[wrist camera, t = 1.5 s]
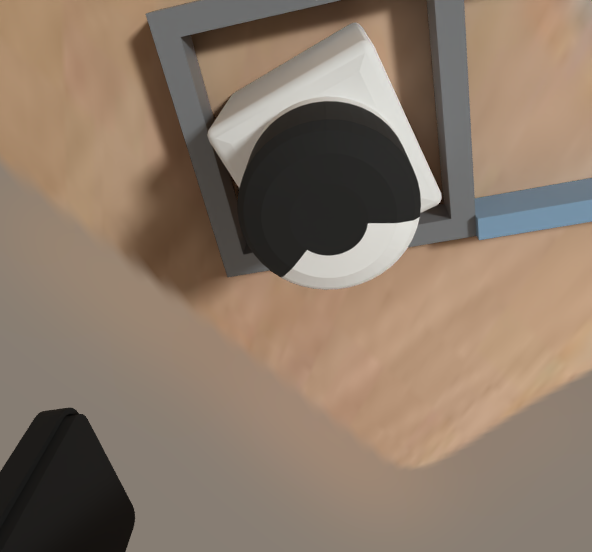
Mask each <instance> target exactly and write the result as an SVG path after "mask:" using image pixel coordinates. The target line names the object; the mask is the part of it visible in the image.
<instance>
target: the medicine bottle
mask: <svg viewBox="0 0 592 552" xmlns="http://www.w3.org/2000/svg"><path fill="white" fill-rule="evenodd" d="M207 136H208V139H209V142H210V143H211V145H212V146H213V148H214V149H215V151H216V153H217V154H218V156H219V157H220V159H221V160H222V162H223V163H224V165H225V167H226V168H227V170H228V171H229V173H230V174H231V176H232V178H233V179H234V181H235V182H236V184H237V185H238V187H239V193H238V200H237V205H238V218H239V224H240V227H241V230H242V234H243V236H244V238H245V240H246V242H247V244H248V246H249V248H250V249H251V251H252V252H253V254H254V255H255V256H256V257H257V258H258V259H259V261H260V262H261V263H262V264H263V265H264V266H266V267H267V268H268V269H269V270H270V271H272V272H273V273H275V274H276V275H278V276H279V277H281V278H283V279H285V280H287V281H289V282H291V283H294V284H297V285H300V286H304V287H308V288H313V289H324V290H327V289H341V288H348V287H352V286H355V285H359V284H362V283H364V282H367V281H369V280H371V279H373V278H375V277H377V276H378V275H380V274H382V273H383V272H384V271H386V270H387V269H388V268H390V267H391V266H392V265H393V264H394V263H395V262H396V261H397V260H398V259H399V258H400V257H401V256H402V254H403V253H404V252H405V251H406V249H407V248H408V246H409V244H410V243H411V241H412V239H413V237H414V234H415V232H416V229H417V226H418V222H419V218H420V213H422V212H424V211H426V210H428V209H430V208H432V207H434V206H436V205H438V204H439V203H440V201H441V198H442V196H441V192H440V190H439V187H438V185H437V183H436V181H435V179H434V177H433V174H432V172H431V170H430V168H429V166H428V163H427V161H426V159H425V157H424V155H423V152H422V150H421V148H420V146H419V144H418V141H417V139H416V137H415V135H414V133H413V130H412V128H411V126H410V124H409V122H408V120H407V117H406V115H405V113H404V111H403V109H402V106H401V104H400V102H399V100H398V98H397V95H396V93H395V91H394V89H393V87H392V84H391V82H390V80H389V78H388V76H387V73H386V71H385V69H384V67H383V65H382V63H381V60H380V58H379V56H378V54H377V52H376V49H375V47H374V45H373V44H372V42H371V40H370V39H369V37H368V36H367V34H366V33H365V31H364V30H363V28H362V27H361V25H360V24H359V23H356V22H355V23H351V24H349V25H347V26H346V27H344V28H342V29H341V30H339V31H337V32H336V33H334V34H332V35H331V36H329V37H327V38H326V39H324V40H322V41H321V42H319V43H317V44H315V45H314V46H312V47H310V48H309V49H307V50H305V51H304V52H302V53H300V54H299V55H297V56H295V57H294V58H292V59H290V60H288V61H287V62H285V63H283V64H282V65H280V66H278V67H277V68H275V69H273V70H272V71H270V72H268V73H267V74H265V75H263V76H262V77H260V78H258V79H256V80H255V81H253V82H251V83H250V84H248V85H246V86H245V87H243V88H241V89H240V90H238V91H236V92H235V93H233V94H232V95H231V97H230V98H229V100H228V101H227V103H226V104H225V106H224V107H223V109H222V110H221V112H220V113H219V115H218V117H217V118H216V120H215V121H214V123H213V124H212V126H211V127H210V129H209V130H208V134H207Z"/></svg>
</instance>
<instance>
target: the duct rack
mask: <svg viewBox="0 0 592 552" xmlns="http://www.w3.org/2000/svg"><path fill="white" fill-rule="evenodd" d="M335 1H339V0H198V1H194V2H190V3H185V4H181V5H177V6H173V7H169V8H164V9H160V10H156V11H153V12H150V13H146V17H147V20H148V23H149V26H150V30H151V33H152V36H153V39H154V42H155V46H156V49H157V52H158V55H159V59H160V62H161V65H162V68H163V71H164V75H165V78H166V81H167V84H168V87H169V91H170V94H171V97H172V100H173V103H174V107H175V110H176V113H177V116H178V119H179V123H180V126H181V129H182V132H183V136H184V139H185V142H186V145H187V148H188V152H189V155H190V158H191V161H192V164H193V168H194V171H195V174H196V177H197V180H198V184H199V187H200V190H201V193H202V196H203V200H204V203H205V206H206V209H207V212H208V216H209V219H210V222H211V225H212V229H213V232H214V235H215V238H216V241H217V245H218V248H219V251H220V254H221V257H222V261H223V264H224V267H225V270H226V273H227V277H232V276H238V275H244V274H250V273H256V272H262V271H268V270H269V269H268V268H267V267H266V266H264V265H263V264H262V263H261V262H260V261H259V259H258V258H257V257H256V256H255V255H254V254H253V252H252V251H251V249H250V248H249V246H248V244H247V242H246V240H245V238H244V236H243V234H242V230H241V227H240V224H239V218H238V205H237V199H236V196H235V192H234V188H233V185H232V181H231V178H230V174H229V171H228V170H227V168H226V167H225V165H224V163H223V162H222V160H221V159H220V157H219V156H218V154H217V153H216V151H215V149H214V148H213V146H212V145H211V143H210V142H209V139H208V136H207V134H208V130H209V129H210V127H211V126H212V124H213V123H214V117H213V113H212V110H211V106H210V103H209V99H208V96H207V92H206V88H205V85H204V81H203V78H202V74H201V71H200V67H199V63H198V60H197V56H196V53H195V49H194V46H193V42H192V38H191V35H192V34H196V33H200V32H205V31H209V30H213V29H218V28H222V27H226V26H231V25H235V24H239V23H244V22H248V21H253V20H257V19H261V18H266V17H270V16H274V15H279V14H283V13H287V12H292V11H296V10H300V9H305V8H309V7H313V6H318V5H322V4H326V3H331V2H335ZM427 10H428V22H429V34H430V46H431V58H432V70H433V82H434V94H435V106H436V118H437V130H438V142H439V154H440V166H441V178H442V190H443V202H444V204H441V205H436V206H434V207H432V208H430V209H428V210H426V211H424V212H422V213H420V218H419V222H418V226H417V229H416V232H415V234H414V237H413V239H412V241H411V243H410V244H409V246H408V247H413V246H419V245H425V244H431V243H437V242H443V241H449V240H455V239H461V238H467V237H473V236H477V238H478V239H479V240H483V239H489V238H495V237H501V236H507V235H513V234H519V233H525V232H531V231H537V230H543V229H549V228H555V227H561V226H567V225H573V224H580V223H586V222H592V178H589V179H583V180H577V181H572V182H566V183H560V184H555V185H549V186H543V187H537V188H532V189H526V190H520V191H515V192H509V193H503V194H498V195H492V196H486V197H480V198H474V179H473V161H472V142H471V123H470V104H469V86H468V67H467V48H466V29H465V11H464V0H427Z"/></svg>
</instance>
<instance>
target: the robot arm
mask: <svg viewBox="0 0 592 552" xmlns="http://www.w3.org/2000/svg"><path fill="white" fill-rule="evenodd" d="M134 522H135V512H134V508H133V505H132V503H131V502H130V500H129V498H128V496H127V494H126V492H125V490H124V488H123V486H122V484H121V482H120V480H119V479H118V477H117V475H116V473H115V471H114V469H113V467H112V465H111V463H110V461H109V460H108V457H107V456H106V454H105V452H104V450H103V448H102V446H101V444H100V442H99V440H98V438H97V436H96V434H95V433H94V431H93V429H92V427H91V425H90V423H89V421H88V419H87V418H86V416H84V415H83V414H79V413H78V412H77V411H76V410H75V409H73V408H63V409H57V410H49V411H43V412H40V413H39V414H38V415H37V416H36V417H35V418H34V420H33V422H32V423H31V425H30V426H29V428H28V430H27V431H26V433H25V434H24V436H23V437H22V439H21V440H20V442H19V443H18V445H17V447H16V448H15V450H14V451H13V453H12V454H11V456H10V458H9V459H8V461H7V462H6V464H5V465H4V467H3V469H2V470H1V472H0V552H125V551H126V548H127V545H128V542H129V539H130V536H131V533H132V530H133V527H134Z"/></svg>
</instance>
